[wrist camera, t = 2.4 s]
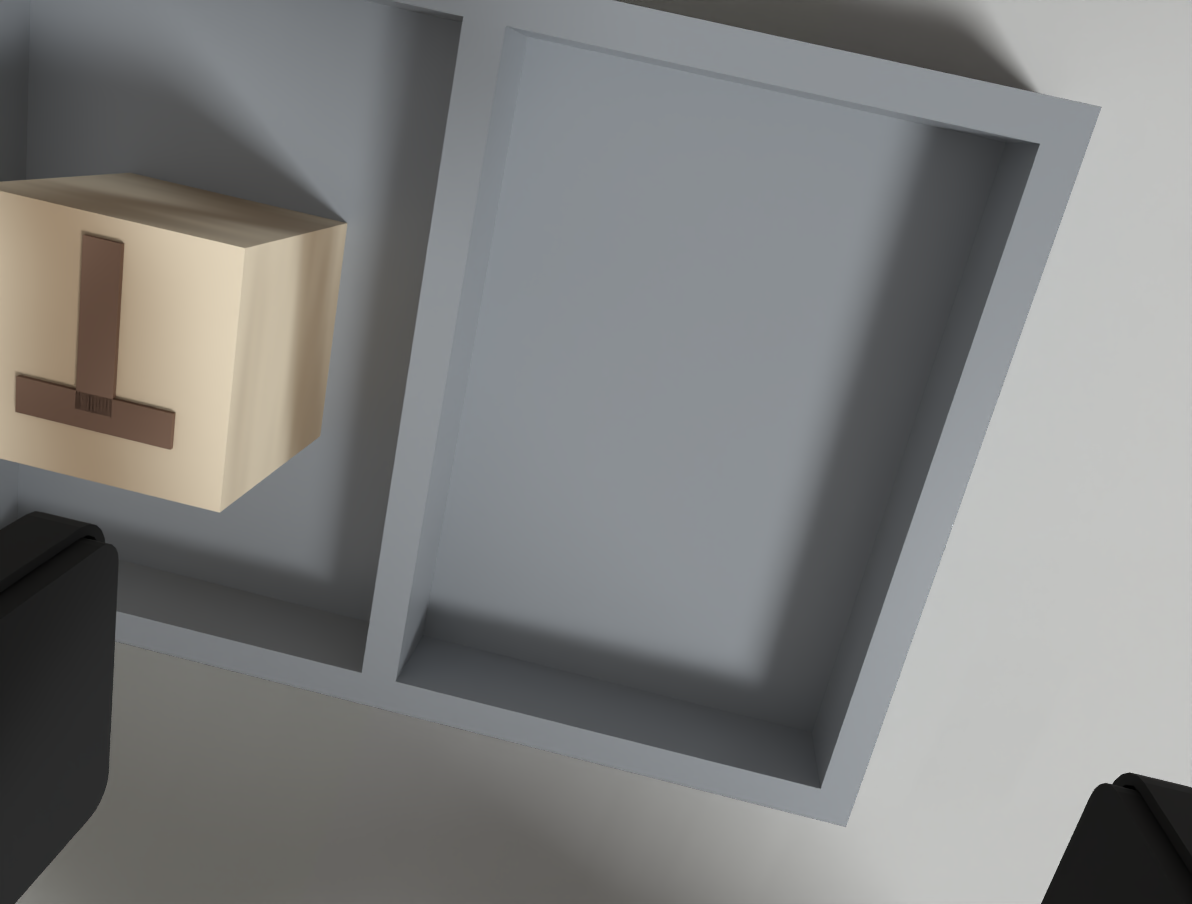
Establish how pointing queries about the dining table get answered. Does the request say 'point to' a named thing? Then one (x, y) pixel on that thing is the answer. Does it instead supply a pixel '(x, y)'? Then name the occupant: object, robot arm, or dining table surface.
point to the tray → (576, 360)
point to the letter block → (162, 333)
